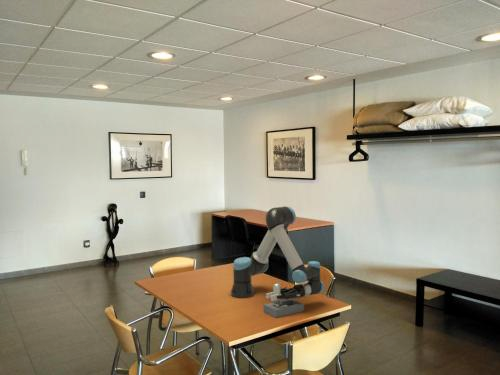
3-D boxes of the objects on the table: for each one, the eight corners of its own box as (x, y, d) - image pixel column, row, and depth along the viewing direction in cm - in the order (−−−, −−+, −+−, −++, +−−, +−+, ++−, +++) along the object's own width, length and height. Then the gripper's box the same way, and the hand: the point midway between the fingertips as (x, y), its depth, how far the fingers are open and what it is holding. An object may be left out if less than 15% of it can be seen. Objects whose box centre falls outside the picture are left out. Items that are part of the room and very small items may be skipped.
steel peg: (272, 310, 228) (272, 282, 228) (281, 310, 228) (281, 282, 227) (272, 313, 224) (272, 285, 223) (281, 313, 223) (281, 285, 222)
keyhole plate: (291, 305, 239) (291, 298, 239) (304, 310, 229) (304, 304, 228) (263, 311, 228) (263, 304, 228) (275, 317, 218) (275, 310, 218)
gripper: (311, 300, 228) (278, 307, 215) (292, 292, 242) (260, 299, 230) (311, 287, 228) (278, 294, 215) (292, 280, 242) (260, 286, 229)
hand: (269, 296), depth 222 cm, fingers closed on steel peg, 4 cm apart
